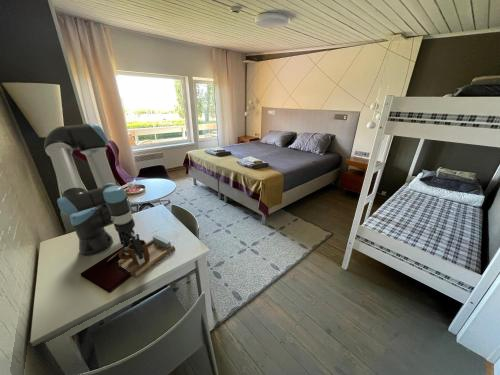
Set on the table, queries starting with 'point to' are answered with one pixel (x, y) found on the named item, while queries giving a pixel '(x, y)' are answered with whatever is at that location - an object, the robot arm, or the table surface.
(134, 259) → the mug
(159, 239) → the bar
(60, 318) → the table surface
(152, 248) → the housing base
